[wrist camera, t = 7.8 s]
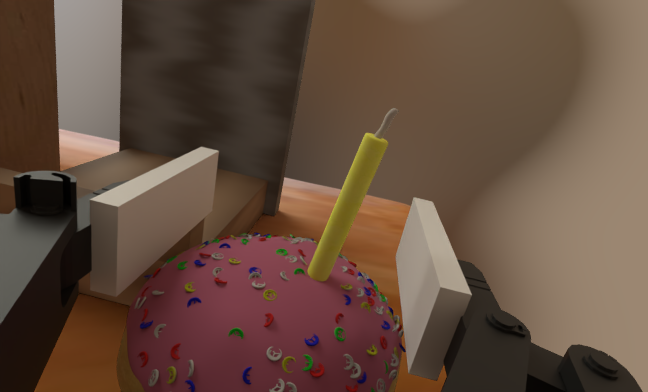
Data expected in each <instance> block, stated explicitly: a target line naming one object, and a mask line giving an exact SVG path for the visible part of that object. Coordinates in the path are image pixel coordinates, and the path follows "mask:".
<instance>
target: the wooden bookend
mask: <svg viewBox="0 0 648 392" xmlns="http://www.w3.org/2000/svg"><path fill="white" fill-rule="evenodd" d="M314 5H315V0H122V44H121V48H122V49H121V98H120V149H119V152H117V153H114V154H111V155H108V156H105V157H102V158H99V159H96V160H93V161H90V162H87V163H84V164H81V165H78V166H75V167H72V168H69V169H66V170H63V171H60V172H65V173H68V174H71V175H73V176H74V177H75V178H77V199H79V198H81V197H83V196H86V195H88V194H90V193H91V194H93V192H95V191H97V190H99V189H102V188H103V187H106V186H108V185H110V184H112V183H116V182H121V181H126V180H132V179H134V178H136V177H138V176H141V175H143V174H145V173H147V172H149V171H151V170H153V169H155V168H158V167H160V166H162V165H164V164H166V163H168V162H170V161H172V160H174V159H177V158H179V157H181V156H183V155H185V154H187V153H189V152H191V151H193V150H196V149H198V148H200V147H204V148H209V149H213V150H217V151H219V155H218V164H217V173H216V181H215V190H214V199H213V208H212V211H211V212H210V213H209V214H208V215H207V216H206V217H205V218H204V219H203V220H201V221H200V222H199V223H198V224H197V225H196V226H195V227H194V228H192V229H191V230H190V231H189V232H188V233H187V234H186V235H185V236H184V237H182V238H181V239H180V240H179V241H178V242H177V243H176V244H175V245H174V246H172V247H171V248H170V249H169V250H168V251H167V252H166V253H165V254H164V255H162V256H161V257H160V258H159V259H158V260H157V261H156V262H155V263H154V264H152V265H151V266H150V267H149V268H148V269H147V270H146V271H145V272H144V273H142V274H141V275H140V276H139V277H138V278H137V279H136V280H135V281H134V282H132V283H131V284H130V285H129V286H128V287H127V288H126V289H125V290H124V291H122V292H121V293H120V294H119V295H118V296H117V297H114V296H111V295H107V294H103V293H99V292H95V291H91V290H90V272H89V273H88V274H87V275H85V276H84V277H83V278H81V279H80V280H79V293H82V294H86V295H90V296H94V297H97V298H101V299H105V300H109V301H113V302H117V303H121V304H124V305H128V306H131V304H132V302H133V301H134V299H135V297H136V296H137V294H138V293H139V291H140V290H141V288H142V287H143V286H144V284H145V283H146V282H147V281H148V280H149V278H147V279H146V278H144V276H147V275H153V274H154V272H155V271H156V270H157V269H158V268H160V267H161V266H162V265H163V264H164V263H165V262H167V259H170V258H172V257H174V256H176V255H178V254H179V253H181V252H183V251H187V250H188V249H190V248H192V247H195V246H197V245H199V244H202V243H204V242H206V241H211V240H212V239H218V238H221V237H224V238H225V237H226V236H228V235H229V236H230V237H231V235H233V236H234V237H238V236H239V235H241V234H244V233H246V234H248V232H249V231H250V230H251V228H252V227H253V226H254V224H255V223H256V222H257V220H258V219H259V218H260V216H261V215H262V214H263V213H264V214H268V215H272V216H274V215H275V214H276V212H277V211H278V209H279V203H280V197H281V192H282V186H283V181H284V175H285V169H286V163H287V158H288V152H289V146H290V141H291V135H292V129H293V124H294V118H295V113H296V107H297V101H298V96H299V90H300V84H301V79H302V73H303V67H304V62H305V56H306V51H307V45H308V39H309V34H310V28H311V22H312V17H313V11H314ZM19 174H21V172H16V171H12V170H8V169H4V168H0V214H10V213H11V212H12V211H13V210H14V209H15V208H16V205H15V192H14V180H13V177H14V176H17V175H19Z"/></svg>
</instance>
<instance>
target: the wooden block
mask: <svg viewBox="0 0 648 392" xmlns="http://www.w3.org/2000/svg"><path fill="white" fill-rule="evenodd" d="M0 168H4V169H8V170H12V171H16V172H21V173H26V172H31V171H58V172H60V154H59V127H58V101H57V74H56V47H55V20H54V0H0Z"/></svg>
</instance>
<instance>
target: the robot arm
mask: <svg viewBox="0 0 648 392" xmlns="http://www.w3.org/2000/svg"><path fill="white" fill-rule="evenodd" d="M218 155H219V151H217V150H213V149H209V148H204V147H200V148H198V149H196V150H193V151H191V152H189V153H187V154H185V155H183V156H181V157H179V158H177V159H174V160H172V161H170V162H168V163H166V164H164V165H162V166H160V167H158V168H155V169H153V170H151V171H149V172H147V173H145V174H143V175H141V176H138V177H136V178H134V179H132V180H126V181H121V182H116V183H112V184H110V185H108V186H106V187H103V188H102V189H99V190H97V191H95V192H93V194H91V193H90V194H88V195H86V196H83V197H81V198H79V199H77V178H75V177H74V176H73V175H71V174H68V173H65V172H58V171H31V172H26V173H21V174H19V175H17V176H14V177H13V180H14V192H15V205H16V208H15V209H14V210H13V211H12V212H11V213H10V214H0V392H34V390H35V388H36V386H37V383H38V381H39V379H40V377H41V375H42V373H43V370H44V368H45V366H46V364H47V362H48V360H49V357H50V355H51V353H52V351H53V349H54V347H55V344H56V342H57V340H58V338H59V336H60V333H61V331H62V329H63V327H64V325H65V323H66V320H67V318H68V316H69V314H70V312H71V310H72V307H73V305H74V303H75V301H76V299H77V296H78V293H79V280H80V279H81V278H83V277H84V276H85V275H87V274H88V273H89V272H90V290H91V291H95V292H99V293H103V294H107V295H111V296H114V297H117V296H118V295H119V294H120V293H121V292H122V291H124V290H125V289H126V288H127V287H128V286H129V285H130V284H131V283H132V282H134V281H135V280H136V279H137V278H138V277H139V276H140V275H141V274H142V273H144V272H145V271H146V270H147V269H148V268H149V267H150V266H151V265H152V264H154V263H155V262H156V261H157V260H158V259H159V258H160V257H161V256H162V255H164V254H165V253H166V252H167V251H168V250H169V249H170V248H171V247H172V246H174V245H175V244H176V243H177V242H178V241H179V240H180V239H181V238H182V237H184V236H185V235H186V234H187V233H188V232H189V231H190V230H191V229H192V228H194V227H195V226H196V225H197V224H198V223H199V222H200V221H201V220H203V219H204V218H205V217H206V216H207V215H208V214H209V213H210V212H211V211H212V208H213V199H214V190H215V181H216V173H217V164H218ZM396 264H397V273H398V282H399V291H400V300H401V309H402V318H403V327H404V336H405V345H406V354H407V364H408V373H409V374H413V375H417V376H421V377H424V378H428V379H432V380H436V381H437V379H438V377H439V374H440V372H441V369H442V367H443V365H444V366H445V370H446V374H447V378H446V380H445V383H444V385H443V387H442V390H441V392H642V390H641V388H640V387H639V385H638V384H637V382H636V380H635V379H634V378H633V376H632V375H631V374H630V373H629V372H628V370H627V369H626V368H624V367H623V366H622V365H621V364H620V363H618V362H617V360H615V359H614V358H613V357H611V356H608V355H607V354H606V353H604V352H602V351H598V350H596V349H594V348H591V347H588V346H583V345H571V346H570V347H569V348H568V350H567V352H566V354H565V355H564V357H562V356H559V355H557V354H555V353H553V352H551V351H548V350H546V349H544V348H541V347H539V346H537V345H535V344H533V343H531V336H530V332H529V330H528V329H527V328H526V326H525V325H524V324H523V323H522V322H520V321H519V320H518V319H517V318H515V317H514V316H512V315H510V314H509V313H507V312H505V311H502V310H501V309H500V307H499V305H498V303H497V301H496V299H495V297H494V295H493V293H492V292H491V291H490V290H491V289H490V287H489V286H488V284H487V283H486V280H485V278H484V276H483V274H482V272H480V270H479V269H477V268H476V267H475V266H474V265H473V264H472V263H470V262H465V261H461V260H457V259H456V256H455V254H454V251H453V249H452V247H451V244H450V242H449V240H448V237H447V235H446V233H445V230H444V228H443V226H442V223H441V221H440V218H439V216H438V214H437V211H436V209H435V207H434V204H433V202H430V201H427V200H422V199H418V198H414V199H413V202H412V205H411V209H410V212H409V215H408V218H407V221H406V225H405V228H404V231H403V234H402V237H401V241H400V244H399V247H398V250H397V253H396Z"/></svg>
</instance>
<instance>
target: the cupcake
mask: <svg viewBox="0 0 648 392" xmlns="http://www.w3.org/2000/svg"><path fill="white" fill-rule="evenodd" d="M398 112H399V111H398V110H397V109H395V108H393V109H391V110H390V111H389V112H388V113H387V115H386V117H385V119H384V121H383V123H382V125H381V127H380V129H379V130H378V131H377V133H376V134H375V135H374V134H371V133H366V134H365V136H364V138H363V140H362V143H361V145H360V147H359V150H358V152H357V154H356V157H355V159H354V161H353V164H352V166H351V169H350V171H349V173H348V176H347V178H346V180H345V183H344V185H343V188H342V190H341V192H340V195H339V197H338V199H337V202H336V204H335V206H334V209H333V211H332V214H331V216H330V218H329V221H328V223H327V225H326V228H325V230H324V232H323V235H322V237H321V240H320V242H319V243H317V242H315V241H314V242H313V240H314V239H309V238H304V239H303V238H301V237H297V238H295V237H294V236H292V235H291V234H290V236H291V237H292V238H291V237H284V236H282V237H277V235H274V236H271V235H270V234H267V235H264V236H261V235H260V234H259V233H254V236H253V235H252V234H249V235H248V234H246V233H244V234H241V235H239V236H238V237H234V236H233V235H231V237H230V236H229V235H228V236H226V237H225V238H224V237H221V238H218V239H212V240H211V241H206V242H204V243H202V244H199V245H197V246H195V247H192V248H190V249H188V250H187V251H183V252H181V253H179V254H178V255H176V256H174V257H172V258H170V259H167V262H165V263H164V264H163V265H162V266H161V267H160V268H158V269H157V270H156V271H155V272H154V274H153V275H147V276H144V278H146V279H147V278H149V280H148V281H147V282H146V283H145V284H144V286H143V287H142V288H141V290H140V291H139V293H138V294H137V296H136V297H135V299H134V301H133V302H132V304H131V306H130V309H129V312H128V316H127V324H126V327H125V330H124V334H123V338H122V341H121V345H120V350H119V354H118V360H117V376H118V382H119V386H120V389H121V392H394V390H395V387H396V383H397V378H398V374H399V368H400V362H401V355H402V350H403V352H406V351H405V349H404V347H403V346H402V341H401V337H402V335H403V330H401V328H402V326H401V325H400V317H399V316H398V315H396V316H394V318H393V310H392V308H390V307H388V306H387V305H388V300H387V298H386V297H385V296H383V295H382V293H381V292H380V293H379V292H378V287H377V285H376V283H375V282H373V281H372V280H371V279H369V276H368V275H367V274H365V273H360V272H359V271H358V270H357V269H356V268H355V267H356V264H355V263H353V262H349V261H348V259H347V258H346V257H345V256H342V255H341V254H340V250H341V248H342V246H343V244H344V241H345V239H346V237H347V235H348V233H349V230H350V228H351V226H352V224H353V221H354V219H355V217H356V215H357V213H358V210H359V208H360V206H361V204H362V201H363V199H364V197H365V195H366V192H367V190H368V188H369V186H370V184H371V181H372V179H373V177H374V175H375V172H376V170H377V168H378V166H379V164H380V161H381V159H382V157H383V155H384V152H385V150H386V148H387V146H388V141H386V140H385V139H383V138H382V137H383V135H384V134H385V133H386V132H387V130H388V128H389V126H390V125H391V122H392V120H393V118H394V116H395V115H396V114H397V113H398ZM344 258H345V259H344ZM364 275H365V276H364ZM372 284H373V285H372ZM385 301H386V303H385ZM396 318H398V319H396ZM395 319H396V320H395Z"/></svg>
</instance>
